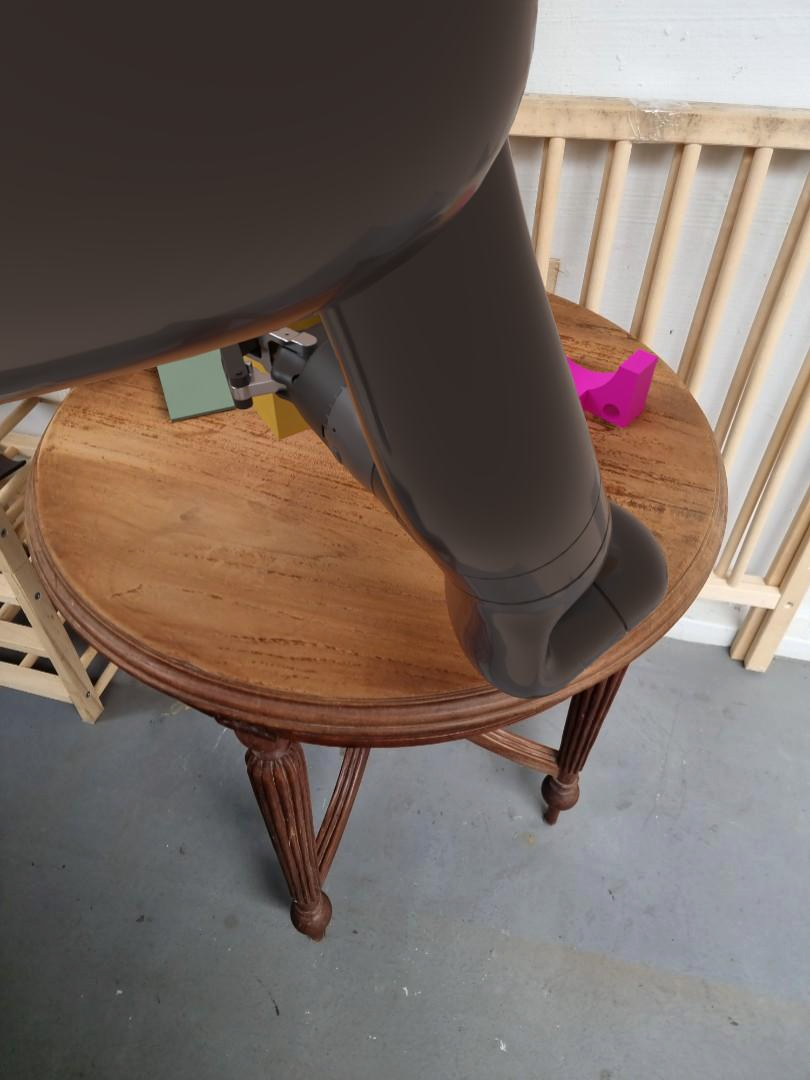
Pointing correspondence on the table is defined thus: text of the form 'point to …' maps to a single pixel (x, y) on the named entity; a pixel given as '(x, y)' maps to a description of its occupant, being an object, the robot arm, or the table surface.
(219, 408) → the mat
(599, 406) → the toy block
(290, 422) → the yellow block
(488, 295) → the robot arm
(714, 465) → the table surface
